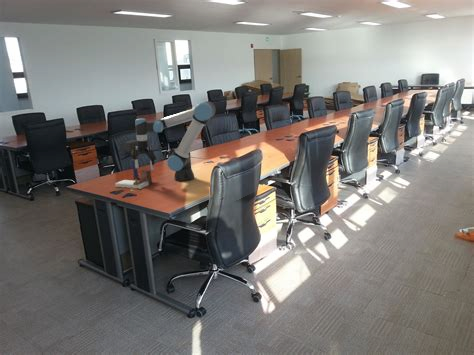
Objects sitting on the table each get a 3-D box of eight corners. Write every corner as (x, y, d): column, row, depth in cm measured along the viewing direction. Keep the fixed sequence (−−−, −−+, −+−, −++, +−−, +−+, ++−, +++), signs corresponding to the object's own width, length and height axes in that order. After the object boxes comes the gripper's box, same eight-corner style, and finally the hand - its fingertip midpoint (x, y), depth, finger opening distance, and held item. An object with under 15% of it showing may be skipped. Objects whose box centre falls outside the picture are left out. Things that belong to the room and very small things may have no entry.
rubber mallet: (137, 175, 319) (133, 139, 311) (145, 176, 316) (141, 139, 308) (127, 179, 308) (122, 141, 300) (134, 180, 305) (130, 142, 297)
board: (124, 183, 300) (123, 179, 299) (148, 185, 291) (148, 181, 291) (115, 186, 291) (115, 183, 290) (140, 188, 282) (140, 185, 282)
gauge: (146, 182, 299) (145, 169, 297) (151, 182, 297) (150, 169, 295) (132, 188, 284) (130, 174, 282) (138, 188, 282) (136, 175, 280)
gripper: (124, 140, 289) (127, 168, 294) (153, 141, 279) (156, 171, 285) (131, 138, 295) (134, 166, 301) (159, 140, 286) (161, 168, 292)
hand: (144, 168), depth 293 cm, fingers open, 13 cm apart
